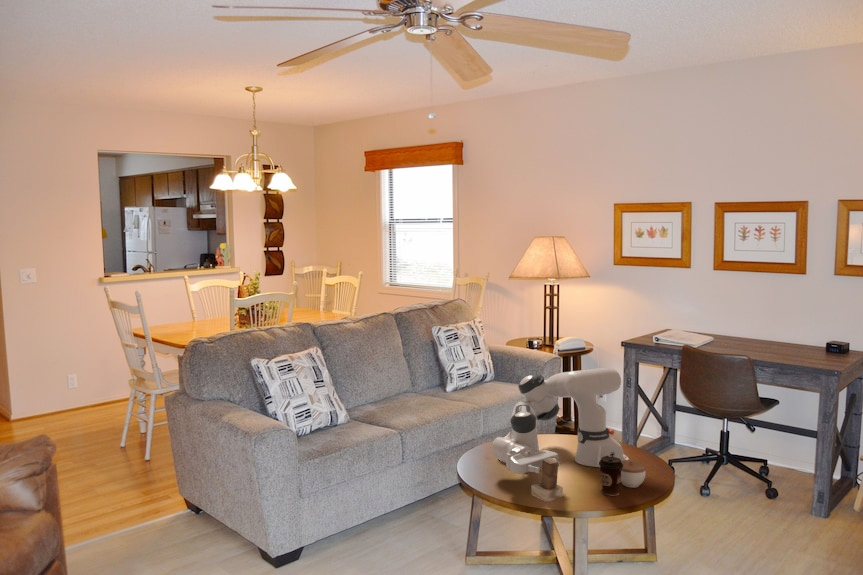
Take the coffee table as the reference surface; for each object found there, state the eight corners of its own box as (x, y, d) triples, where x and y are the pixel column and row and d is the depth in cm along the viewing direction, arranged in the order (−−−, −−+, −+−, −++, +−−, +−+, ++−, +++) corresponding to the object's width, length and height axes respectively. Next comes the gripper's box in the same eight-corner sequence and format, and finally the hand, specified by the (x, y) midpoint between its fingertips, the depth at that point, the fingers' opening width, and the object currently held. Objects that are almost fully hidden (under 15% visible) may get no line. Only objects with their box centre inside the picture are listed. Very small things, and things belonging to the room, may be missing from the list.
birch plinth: (547, 490, 256) (547, 480, 256) (562, 497, 250) (562, 487, 249) (531, 495, 252) (531, 485, 252) (546, 503, 245) (546, 492, 245)
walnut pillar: (549, 483, 253) (550, 457, 251) (556, 487, 249) (558, 461, 248) (540, 485, 250) (542, 459, 249) (548, 489, 247) (550, 464, 245)
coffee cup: (607, 499, 247) (608, 464, 246) (593, 490, 255) (594, 457, 253) (627, 495, 251) (627, 460, 249) (612, 486, 258) (613, 453, 257)
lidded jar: (642, 492, 253) (642, 467, 252) (613, 486, 258) (613, 462, 257) (648, 482, 262) (648, 458, 262) (620, 477, 268) (620, 454, 267)
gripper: (543, 459, 266) (569, 469, 255) (503, 470, 255) (528, 482, 244) (543, 443, 266) (569, 453, 254) (503, 454, 254) (528, 465, 243)
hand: (548, 467), depth 249 cm, fingers open, 8 cm apart
